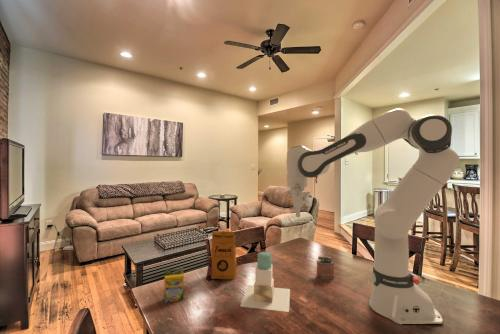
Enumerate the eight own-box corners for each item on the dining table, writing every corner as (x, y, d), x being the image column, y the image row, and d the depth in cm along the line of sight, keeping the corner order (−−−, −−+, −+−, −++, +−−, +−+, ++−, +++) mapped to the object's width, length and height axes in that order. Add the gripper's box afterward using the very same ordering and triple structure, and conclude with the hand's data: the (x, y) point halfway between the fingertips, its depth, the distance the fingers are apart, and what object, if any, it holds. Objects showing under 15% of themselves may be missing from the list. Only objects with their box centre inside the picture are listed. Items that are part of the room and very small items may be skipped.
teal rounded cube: (271, 264, 98) (271, 252, 98) (270, 270, 93) (270, 257, 92) (258, 263, 99) (258, 251, 99) (256, 269, 93) (256, 256, 93)
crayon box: (164, 303, 93) (164, 273, 93) (164, 298, 96) (164, 270, 96) (183, 300, 95) (183, 271, 95) (183, 296, 98) (183, 267, 98)
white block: (272, 279, 98) (272, 264, 98) (271, 286, 92) (271, 270, 92) (258, 277, 99) (258, 263, 99) (255, 284, 93) (255, 269, 93)
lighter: (333, 276, 116) (333, 255, 116) (334, 279, 112) (335, 258, 112) (316, 275, 117) (316, 254, 116) (317, 278, 113) (317, 257, 113)
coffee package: (235, 283, 109) (235, 234, 109) (208, 281, 111) (208, 233, 110) (239, 273, 119) (239, 228, 118) (214, 271, 120) (214, 227, 120)
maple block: (273, 293, 99) (273, 278, 99) (272, 302, 92) (272, 287, 92) (256, 291, 100) (256, 277, 100) (254, 300, 93) (254, 285, 93)
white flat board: (290, 291, 102) (290, 289, 102) (289, 314, 86) (289, 311, 86) (248, 287, 105) (248, 284, 105) (239, 308, 90) (239, 306, 90)
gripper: (305, 184, 95) (306, 219, 95) (303, 181, 116) (303, 210, 116) (289, 184, 97) (290, 219, 97) (290, 181, 117) (290, 210, 117)
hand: (297, 214), depth 106 cm, fingers open, 8 cm apart
